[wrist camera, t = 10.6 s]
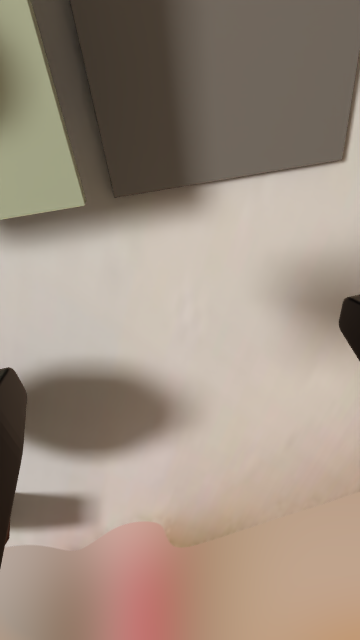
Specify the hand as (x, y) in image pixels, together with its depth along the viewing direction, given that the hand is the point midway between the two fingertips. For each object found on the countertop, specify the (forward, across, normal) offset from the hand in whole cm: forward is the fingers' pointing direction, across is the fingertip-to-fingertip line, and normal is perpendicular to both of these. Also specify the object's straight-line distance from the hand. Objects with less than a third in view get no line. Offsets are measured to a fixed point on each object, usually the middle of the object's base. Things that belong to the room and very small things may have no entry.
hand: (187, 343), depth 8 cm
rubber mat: (+12, -5, -8) cm, 15 cm away
